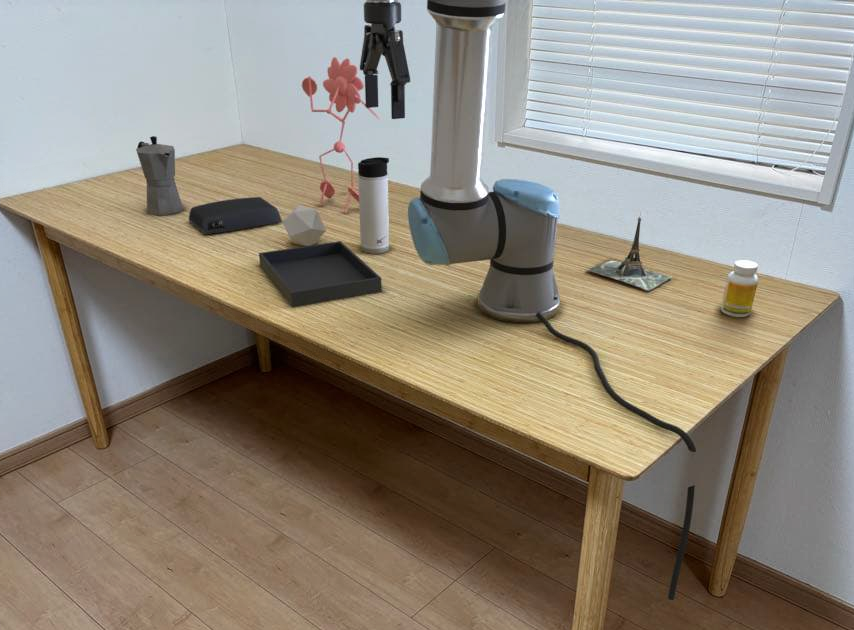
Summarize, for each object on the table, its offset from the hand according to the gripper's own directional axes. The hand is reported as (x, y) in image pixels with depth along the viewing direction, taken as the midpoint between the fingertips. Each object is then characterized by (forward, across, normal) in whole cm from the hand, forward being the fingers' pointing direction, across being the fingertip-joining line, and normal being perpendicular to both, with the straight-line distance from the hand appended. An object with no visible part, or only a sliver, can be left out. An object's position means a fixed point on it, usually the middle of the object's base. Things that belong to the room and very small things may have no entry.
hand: (384, 112), depth 170 cm
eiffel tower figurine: (+28, -42, -36) cm, 62 cm away
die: (+28, +5, +18) cm, 34 cm away
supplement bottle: (+28, -66, -42) cm, 83 cm away
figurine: (+28, +28, -3) cm, 40 cm away
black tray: (+28, -16, +23) cm, 39 cm away
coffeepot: (+28, +45, +42) cm, 67 cm away
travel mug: (+28, -5, +5) cm, 29 cm away
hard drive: (+28, +26, +28) cm, 48 cm away
